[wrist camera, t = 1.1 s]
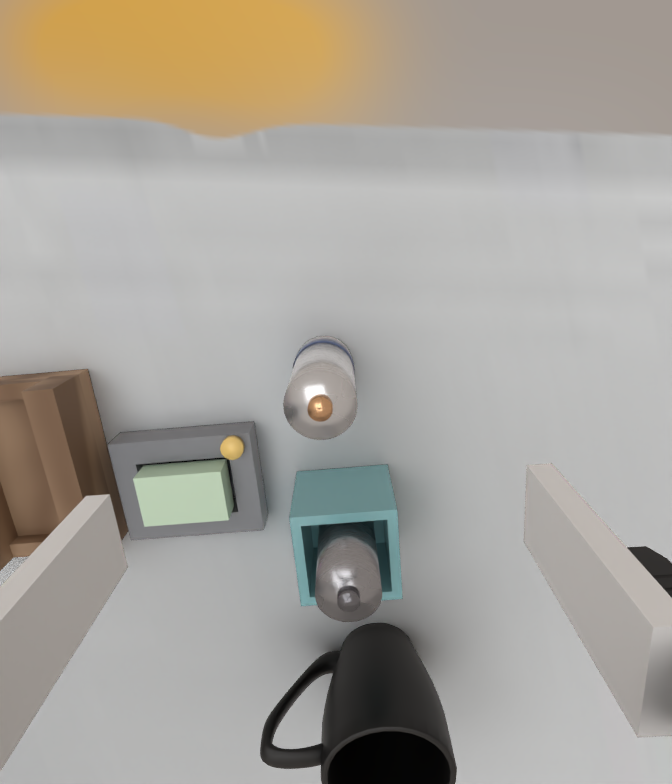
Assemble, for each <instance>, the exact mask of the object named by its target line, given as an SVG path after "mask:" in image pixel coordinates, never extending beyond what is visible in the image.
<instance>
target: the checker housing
mask: <svg viewBox="0 0 672 784" xmlns="http://www.w3.org/2000/svg"><path fill="white" fill-rule="evenodd" d="M107 446H108V450H109V454H110V458H111V462H112V466H113V470H114V474H115V478H116V482H117V486H118V490H119V494H120V498H121V502H122V506H123V510H124V514H125V518H126V522H127V526H128V530H129V534H130V538H131V540H141V539H154V538H167V537H180V536H193V535H206V534H219V533H232V532H246V531H259V530H264V528H265V524H266V520H267V516H268V511H267V504H266V497H265V491H264V484H263V477H262V471H261V464H260V457H259V450H258V444H257V437H256V430H255V424H254V421H253V422H241V423H229V424H217V425H205V426H193V427H181V428H169V429H157V430H145V431H133V432H121V433H119V434H118V435H117V436H116V437H115V438H114V439H113V440H112V441H111V442H110V443H109V444H108V445H107ZM222 457H225V458H227V459H229V460H230V466H231V471H232V477H233V483H234V489H235V495H236V497H234V498H233V500H234V508H233V510H232V513H231V516H230V518H229V520H225V521H212V522H199V523H187V524H174V525H161V526H148V527H144V523H143V519H142V515H141V510H140V506H139V502H138V498H137V494H136V489H135V485H134V481H133V478H134V477H135V476H136V474H137V473H138V472H139V471H140V469H141V468H142V467H143V466H144V465H150V463H160V462H172V461H185V460H197V459H209V458H222Z"/></svg>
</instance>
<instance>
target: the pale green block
mask: <svg viewBox="0 0 672 784" xmlns="http://www.w3.org/2000/svg"><path fill="white" fill-rule="evenodd" d="M133 481H134V485H135V489H136V494H137V498H138V502H139V506H140V510H141V515H142V519H143V523H144V527H148V526H161V525H174V524H187V523H199V522H212V521H225V520H229V518H230V516H231V513H232V510H233V508H234V500H233V494H232V489H231V483H230V477H229V471H228V465H227V459H218V460H206V461H193V462H181V463H169V464H156V465H144V466H143V467H142V468H141V469H140V471H139V472H138V473H137V474H136V476H135V477H134V478H133Z"/></svg>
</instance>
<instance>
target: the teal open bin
mask: <svg viewBox="0 0 672 784" xmlns="http://www.w3.org/2000/svg"><path fill="white" fill-rule="evenodd" d="M289 520H290V527H291V535H292V542H293V550H294V557H295V564H296V572H297V579H298V587H299V594H300V601H301V606H311V605H317V603H316V599H315V584H316V568H317V551H318V535H319V525H323V524H336V523H350V522H363V521H373V522H374V530H375V538H376V546H377V554H378V562H379V570H380V578H381V586H382V600H394V599H402V582H401V565H400V548H399V531H398V514H397V506H396V502H395V497H394V492H393V488H392V483H391V478H390V474H389V469H388V464H386V465H373V466H361V467H348V468H336V469H323V470H311V471H298V472H297V474H296V480H295V486H294V492H293V498H292V504H291V510H290V516H289Z"/></svg>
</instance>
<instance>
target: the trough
mask: <svg viewBox="0 0 672 784" xmlns="http://www.w3.org/2000/svg"><path fill="white" fill-rule="evenodd" d="M107 494H110V498H111V502H112V506H113V510H114V514H115V518H116V522H117V526H118V530H119V534H120V538H121V541H122V539H123V538H124V536H125V535H126V533H127V532H128V528H127V524H126V520H125V516H124V512H123V508H122V504H121V500H120V496H119V492H118V488H117V484H116V480H115V476H114V472H113V468H112V464H111V460H110V456H109V452H108V448H107V444H106V440H105V436H104V432H103V428H102V424H101V420H100V416H99V412H98V408H97V404H96V400H95V396H94V392H93V388H92V384H91V380H90V376H89V372H88V369H82V370H71V371H59V372H48V373H36V374H25V375H13V376H2V377H0V571H1V570H2V569H3V567H4V566H5V565H6V564H7V563H8V562H9V561H10V560H11V559H12V558H13V557H25V556H30V555H31V554H32V553H33V552H34V551H35V550H36V548H37V547H38V546H39V545H40V544H41V543H42V542H43V541H44V540H45V539H46V538H47V537H48V536H49V535H50V534H51V533H52V532H53V530H54V529H55V528H56V527H57V526H58V525H59V524H60V523H61V522H62V521H63V520H64V519H65V518H66V517H67V516H68V515H69V514H70V512H71V511H72V510H73V509H74V508H75V507H76V506H77V505H78V504H79V503H80V502H81V501H82V500H83V499H84V498H85V497H86V496H93V495H107Z"/></svg>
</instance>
